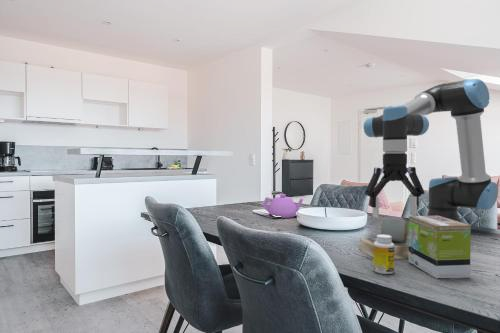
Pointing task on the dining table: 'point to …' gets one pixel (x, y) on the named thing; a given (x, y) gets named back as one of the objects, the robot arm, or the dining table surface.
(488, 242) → the dining table surface
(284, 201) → the teapot
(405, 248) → the dock
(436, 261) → the tea box
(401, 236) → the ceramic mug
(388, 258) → the supplement bottle
